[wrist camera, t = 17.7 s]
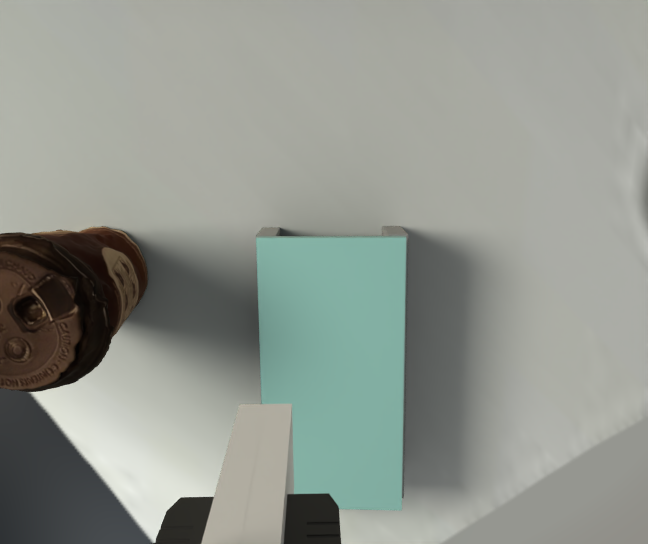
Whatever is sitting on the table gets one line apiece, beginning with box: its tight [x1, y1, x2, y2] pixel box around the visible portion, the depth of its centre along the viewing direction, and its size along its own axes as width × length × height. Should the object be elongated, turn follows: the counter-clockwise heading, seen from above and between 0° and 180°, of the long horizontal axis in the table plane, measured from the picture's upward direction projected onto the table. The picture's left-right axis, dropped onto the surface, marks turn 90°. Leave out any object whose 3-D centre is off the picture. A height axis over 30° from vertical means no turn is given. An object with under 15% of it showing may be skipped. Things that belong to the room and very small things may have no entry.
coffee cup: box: [0, 226, 148, 392], centre depth 35 cm, size 9×8×13 cm
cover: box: [256, 236, 406, 510], centre depth 38 cm, size 18×9×1 cm, turn 1°
